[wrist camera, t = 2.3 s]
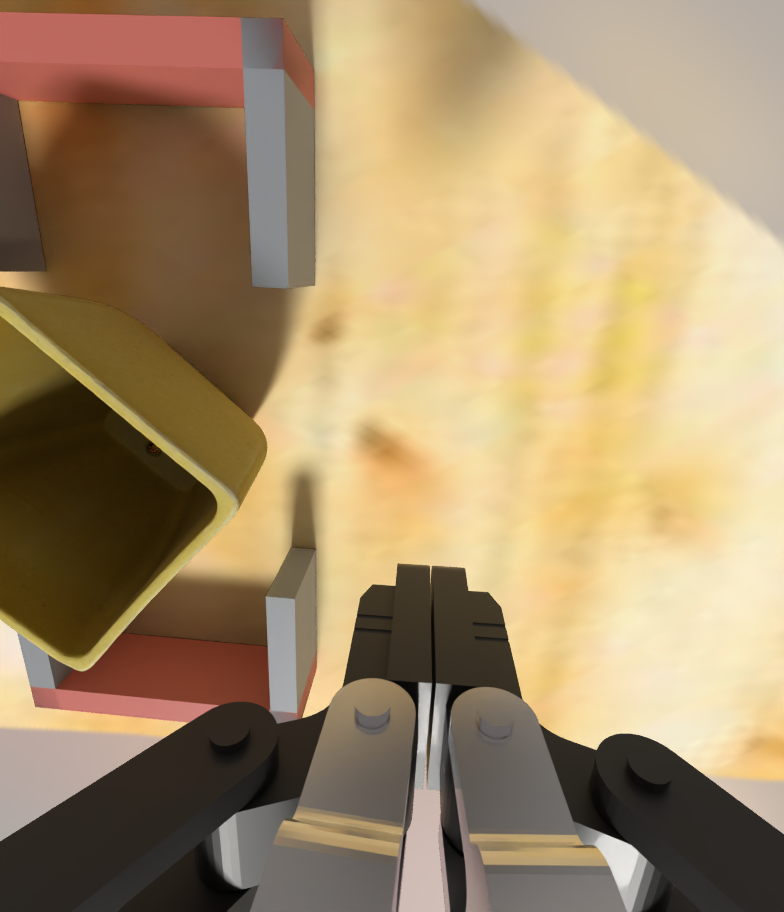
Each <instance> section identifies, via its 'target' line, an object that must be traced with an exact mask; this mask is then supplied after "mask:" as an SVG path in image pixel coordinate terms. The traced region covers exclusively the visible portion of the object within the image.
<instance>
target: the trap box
mask: <svg viewBox="0 0 784 912" xmlns="http://www.w3.org/2000/svg"><path fill="white" fill-rule="evenodd" d="M17 100H18V101H49V102H80V103H110V104H141V105H172V106H203V107H233V108H245V126H246V150H247V173H248V197H249V220H250V243H251V267H252V287H267V288H286V289H289V288H297V287H306V286H314V285H315V172H314V69H313V68H312V66H311V64H310V63H309V61H308V59H307V58H306V56H305V54H304V53H303V51H302V49H301V48H300V46H299V44H298V43H297V41H296V39H295V38H294V36H293V34H292V33H291V31H290V29H289V28H288V26H287V24H286V23H285V21H284V19H283V18H244V17H199V16H155V15H110V14H65V13H20V12H0V271H46V267H45V261H44V255H43V250H42V244H41V238H40V232H39V226H38V220H37V214H36V208H35V202H34V197H33V191H32V185H31V179H30V173H29V167H28V161H27V155H26V149H25V144H24V138H23V132H22V126H21V120H20V114H19V108H18V102H17ZM266 617H267V641H268V647H266V646H255V645H245V644H234V643H223V642H212V641H201V640H191V639H180V638H169V637H158V636H147V635H137V634H126V633H121V634H120V635H119V636H118V637H117V639H116V640H115V641H114V642H113V643H112V644H111V646H110V647H109V648H108V649H107V650H106V652H105V653H104V654H103V655H102V656H101V657H100V658H99V659H98V660H97V661H96V662H95V664H94V665H93V666H92V667H91V668H89V669H88V670H85V671H82V672H81V671H78V670H75V669H73V668H71V667H69V666H67V665H65V664H63V663H61V662H59V661H58V660H56V659H54V658H53V657H51V656H50V655H49V654H47V653H46V652H45V651H43V650H42V649H40V648H39V647H38V646H36V645H35V644H33V643H32V642H30V641H29V640H27V639H26V638H25V637H23V636H22V635H21V634H19V633H18V632H17V633H18V637H19V641H20V645H21V650H22V654H23V658H24V662H25V666H26V670H27V674H28V679H29V683H30V687H31V691H32V695H33V699H34V703H35V707H42V708H52V709H61V710H71V711H81V712H91V713H101V714H110V715H120V716H130V717H140V718H150V719H160V720H169V721H179V722H191V721H192V720H194V719H196V718H197V717H199V716H200V715H202V714H203V713H205V712H207V711H209V710H210V709H212V708H214V707H217V706H219V705H222V704H226V703H231V702H252V703H255V704H258V705H260V706H263V707H264V708H266V709H267V710H269V711H270V712H271V714H272V715H273V716H274V718H275V720H276V722H277V723H282V722H287V721H292V720H297V719H302V716H303V713H304V710H305V706H306V703H307V699H308V696H309V693H310V689H311V686H312V683H313V679H314V676H315V673H316V549H306V548H294V547H291V549H290V551H289V552H288V554H287V556H286V558H285V560H284V562H283V564H282V566H281V568H280V570H279V572H278V574H277V576H276V577H275V579H274V581H273V583H272V585H271V587H270V589H269V591H268V593H267V595H266Z"/></svg>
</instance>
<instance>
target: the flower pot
mask: <svg viewBox="0 0 784 912" xmlns="http://www.w3.org/2000/svg"><path fill="white" fill-rule="evenodd" d="M150 443H154V444H155V445H156V446H157V447H159V448H160V453H159V454H153V453H152V452H151V451H150V450H149V445H150ZM266 454H267V441H266V438H265V435H264V433H263V431H262V430H261V428H260V427H259V426H258V425H257V423H256V422H255V421H254V420H252V419H251V418H250V417H249V416H248V415H247V414H246V413H245V412H243V411H242V410H241V409H240V408H239V407H238V406H237V405H235V404H234V403H233V402H232V401H231V400H230V399H229V398H227V397H226V396H225V395H224V394H223V393H222V392H221V391H220V390H218V389H217V388H216V387H215V386H214V385H213V384H212V383H210V382H209V381H208V380H207V379H206V378H205V377H204V376H203V375H201V374H200V373H199V372H198V371H197V370H196V369H195V368H193V367H192V366H191V365H190V364H189V363H188V362H187V361H186V360H184V359H183V358H182V357H181V356H180V355H179V354H178V353H177V352H175V351H174V350H173V349H172V348H171V347H170V346H169V345H168V344H167V343H165V342H164V341H163V340H162V339H161V338H160V337H159V336H158V335H156V334H155V333H154V332H153V331H151V330H150V329H149V328H148V327H146V326H145V325H144V324H142V323H141V322H139V321H138V320H136V319H135V318H133V317H131V316H130V315H128V314H126V313H124V312H122V311H120V310H118V309H116V308H113V307H111V306H108V305H105V304H102V303H98V302H95V301H90V300H85V299H80V298H73V297H67V296H60V295H54V294H47V293H41V292H34V291H27V290H20V289H13V288H6V287H0V620H2V621H3V622H4V623H6V624H7V625H8V626H10V627H11V628H12V629H14V630H15V631H16V632H18V633H19V634H21V635H22V636H23V637H25V638H26V639H27V640H29V641H30V642H32V643H33V644H35V645H36V646H38V647H39V648H40V649H42V650H43V651H45V652H46V653H47V654H49V655H50V656H51V657H53V658H54V659H56V660H58V661H59V662H61V663H63V664H65V665H67V666H69V667H71V668H73V669H75V670H78V671H81V672H82V671H85V670H88V669H89V668H91V667H92V666H93V665H94V664H95V662H96V661H97V660H98V659H99V658H100V657H101V656H102V655H103V654H104V653H105V652H106V650H107V649H108V648H109V647H110V646H111V644H112V643H113V642H114V641H115V640H116V639H117V637H118V636H119V635H120V634H121V633H122V632H123V631H124V630H125V628H126V627H127V626H128V625H129V624H130V623H131V622H132V621H133V620H134V618H135V617H136V616H137V615H138V614H139V613H140V612H141V611H142V610H143V609H144V607H145V606H146V605H147V604H148V603H149V602H150V601H151V600H152V599H153V598H154V597H155V596H156V595H157V594H158V593H159V592H160V591H161V589H162V588H163V587H164V586H165V585H166V584H167V583H168V582H169V581H170V580H171V579H172V578H173V577H174V576H175V575H176V574H177V573H178V572H179V571H180V570H181V569H182V568H183V567H184V566H185V565H186V564H187V563H188V562H189V561H190V560H191V559H192V558H193V557H194V556H195V555H196V554H197V553H198V552H199V551H200V550H201V549H202V548H203V547H204V546H205V545H206V544H207V543H208V542H209V541H210V540H211V539H212V538H213V537H214V536H215V535H216V534H217V533H218V532H219V531H220V530H221V529H222V528H223V527H224V526H225V525H226V524H227V523H228V522H229V521H230V520H231V519H232V518H233V517H234V515H235V514H236V513H237V511H238V510H239V508H240V506H241V504H242V502H243V500H244V498H245V496H246V495H247V493H248V491H249V489H250V487H251V485H252V483H253V481H254V480H255V478H256V476H257V474H258V472H259V470H260V468H261V466H262V464H263V462H264V460H265V457H266Z"/></svg>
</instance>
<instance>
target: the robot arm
mask: <svg viewBox="0 0 784 912" xmlns="http://www.w3.org/2000/svg"><path fill="white" fill-rule="evenodd" d="M426 748H427V789H429V790H440V805H441V815H440V825H439V850H440V860H441V871H442V881H443V892H444V902H445V912H784V834H782V833H781V832H780V831H778V830H777V829H776V828H774V827H773V826H772V825H770V824H769V823H768V822H766V821H765V820H763V819H762V818H761V817H760V816H758V815H757V814H756V813H754V812H753V811H752V810H750V809H749V808H748V807H746V806H745V805H744V804H742V803H741V802H740V801H738V800H737V799H736V798H734V797H733V796H732V795H730V794H729V793H728V792H726V791H725V790H724V789H722V788H721V787H720V786H718V785H717V784H716V783H714V782H713V781H712V780H710V779H709V778H708V777H706V776H705V775H704V774H702V773H701V772H700V771H698V770H697V769H695V768H694V767H693V766H691V765H690V764H689V763H687V762H686V761H685V760H683V759H682V758H681V757H679V756H678V755H677V754H675V753H674V752H673V751H671V750H670V749H668V748H667V747H665V746H664V745H662V744H660V743H658V742H656V741H654V740H651V739H649V738H646V737H643V736H640V735H634V734H616V735H613V736H610V737H608V738H606V739H604V740H603V741H602V742H601V743H600V745H599V747H598V749H597V750H594V749H591V748H589V747H586V746H583V745H580V744H577V743H574V742H572V741H569V740H566V739H564V738H561V737H559V736H557V735H555V734H553V733H552V732H550V731H549V730H547V729H546V728H544V727H543V726H542V725H541V724H539V721H538V719H537V717H536V715H535V713H534V712H533V710H532V709H531V708H530V707H529V705H528V704H527V703H525V702H524V701H523V699H522V696H521V692H520V687H519V683H518V679H517V674H516V670H515V666H514V661H513V657H512V653H511V648H510V644H509V642H508V635H507V631H506V628H505V622H504V618H503V613H502V609H501V607H500V606H499V604H498V603H497V602H496V601H495V600H494V599H493V597H492V596H491V595H490V594H489V593H488V592H475V591H468V586H467V579H466V572H465V568H458V567H443V566H432V571H431V583H430V566H427V565H412V564H398V566H397V577H396V586H387V585H372V586H371V587H370V588H369V589H368V590H367V591H366V592H365V593H364V594H363V596H362V597H361V598H360V602H359V607H358V613H357V618H356V623H355V628H354V633H353V638H352V643H351V648H350V653H349V658H348V663H347V668H346V673H345V678H344V683H343V687H342V688H341V689H340V690H339V691H338V692H337V693H336V694H335V696H334V697H333V699H332V701H331V703H330V705H329V706H328V707H327V708H325V709H324V710H322V711H320V712H318V713H317V714H314V715H312V716H309V717H306V718H302V719H297V720H292V721H287V722H282V723H277V722H276V720H275V718H274V716H273V715H272V714H271V712H270V711H269V710H267V709H266V708H264V707H263V706H260V705H258V704H255V703H252V702H231V703H226V704H222V705H219V706H217V707H214V708H212V709H210V710H209V711H207V712H205V713H203V714H202V715H200V716H199V717H197V718H196V719H194V720H192V721H191V722H189V723H188V724H186V725H184V726H183V727H181V728H180V729H178V730H176V731H175V732H173V733H172V734H170V735H169V736H167V737H165V738H164V739H162V740H161V741H159V742H158V743H156V744H154V745H153V746H151V747H149V748H148V749H146V750H145V751H143V752H142V753H140V754H138V755H137V756H135V757H134V758H132V759H130V760H129V761H127V762H126V763H124V764H123V765H121V766H119V767H118V768H116V769H115V770H113V771H111V772H110V773H108V774H107V775H105V776H103V777H102V778H100V779H99V780H97V781H96V782H94V783H92V784H91V785H89V786H88V787H86V788H84V789H83V790H81V791H80V792H78V793H76V794H75V795H73V796H72V797H70V798H69V799H67V800H66V801H64V802H62V803H61V804H59V805H57V806H56V807H54V808H53V809H51V810H50V811H48V812H46V813H45V814H43V815H42V816H40V817H39V818H37V819H35V820H34V821H32V822H31V823H29V824H27V825H26V826H24V827H23V828H21V829H19V830H18V831H16V832H15V833H13V834H11V835H10V836H8V837H7V838H5V839H4V840H2V841H0V912H399V905H400V896H401V886H402V877H403V868H404V858H405V848H406V838H407V831H408V828H409V826H410V824H411V820H412V813H413V812H412V811H413V799H414V789H423V783H424V771H425V760H426Z"/></svg>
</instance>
